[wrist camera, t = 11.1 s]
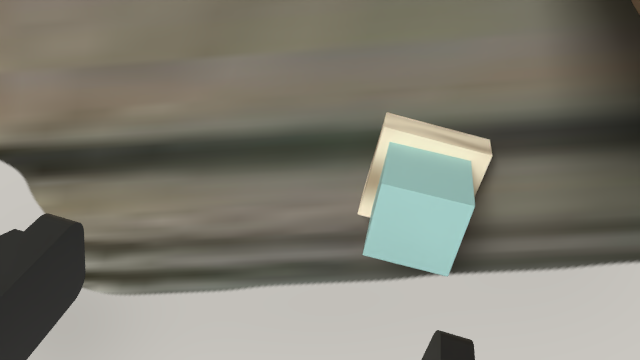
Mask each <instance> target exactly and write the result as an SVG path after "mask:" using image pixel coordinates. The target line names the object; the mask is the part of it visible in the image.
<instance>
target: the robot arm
mask: <svg viewBox="0 0 640 360" xmlns="http://www.w3.org/2000/svg"><path fill="white" fill-rule="evenodd" d="M84 279H85V250H84V229H83V226H82V224H81V223H79V222H75V221H72V220H68V219H65V218H62V217H58V216H55V215H52V214H44V215H42V216H40V217H39V218H38V219H37V220H36V221H35V222H34V223H33V224H32V225H30V226H29V227H28V228H27V229H26V230H25V231H24V232H23V231H20V230H17V229H13V230H11V231H9V232H7V233H5V234H3V235H0V360H27V359H28V357H29V356H30V355H31V354H32V352H33V351H34V350H35V349H36V347H37V346H38V345H39V344H40V342H41V341H42V340H43V339H44V338H45V336H46V335H47V334H48V333H49V331H50V330H51V329H52V328H53V326H54V325H55V324H56V323H57V322H58V320H59V319H60V318H61V317H62V315H63V314H64V313H65V311H66V310H67V309H68V308H69V307H70V305H71V304H72V303H73V302H74V301H75V299H76V298H77V296H78V294H79V292H80V290H81V288H82V286H83V283H84ZM422 360H475V356H474V344H473V342H472V340H470V339H466V338H463V337H460V336H456V335H453V334H449V333H446V332H443V331H439V330H437V331H436V332H435V333H434V335H433V337H432V339H431V341H430V343H429V346H428V348H427V349H426V351H425V354H424V356H423V358H422Z"/></svg>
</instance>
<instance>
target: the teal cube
mask: <svg viewBox="0 0 640 360" xmlns="http://www.w3.org/2000/svg"><path fill="white" fill-rule="evenodd" d="M474 208H475V200H474V189H473V177H472V166H471V161H469V160H465V159H461V158H456V157H452V156H448V155H444V154H439V153H435V152H431V151H427V150H423V149H418V148H414V147H410V146H406V145H402V144H397V143H393V142H389V146H388V150H387V154H386V157H385V161H384V165H383V169H382V173H381V176H380V180H379V184H378V188H377V192H376V195H375V199H374V203H373V207H372V211H371V216H370V221H369V226H368V231H367V236H366V241H365V246H364V251H363V255H365V256H369V257H373V258H377V259H381V260H385V261H388V262H392V263H396V264H400V265H404V266H408V267H412V268H416V269H420V270H424V271H428V272H432V273H436V274H439V275H443V276H448V275H449V272H450V270H451V267H452V264H453V262H454V259H455V257H456V254H457V252H458V249H459V246H460V244H461V241H462V239H463V236H464V233H465V231H466V228H467V226H468V223H469V221H470V218H471V215H472V213H473V210H474Z"/></svg>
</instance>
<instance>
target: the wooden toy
mask: <svg viewBox="0 0 640 360" xmlns="http://www.w3.org/2000/svg"><path fill="white" fill-rule="evenodd" d="M631 1H632V3H633V5H634V6H635V8H636V10H637V12H638V13H639V15H640V0H631Z"/></svg>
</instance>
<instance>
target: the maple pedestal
mask: <svg viewBox="0 0 640 360" xmlns="http://www.w3.org/2000/svg"><path fill="white" fill-rule="evenodd" d="M389 142H393V143H397V144H402V145H406V146H410V147H414V148H418V149H423V150H427V151H431V152H435V153H439V154H444V155H448V156H452V157H456V158H461V159H465V160H469V161H471V166H472V177H473V189H474V197H475V195H476V193H477V190H478V188H479V186H480V183H481V181H482V179H483V177H484V174H485V172H486V170H487V167H488V165H489V163H490V160H491V158H492V150H491V145H490V140H488V139H485V138H481V137H477V136H473V135H470V134H466V133H462V132H458V131H455V130H451V129H447V128H443V127H440V126H436V125H432V124H428V123H425V122H421V121H417V120H413V119H410V118H406V117H402V116H398V115H395V114H391V113H386V116H385V119H384V123H383V126H382V129H381V133H380V136H379V140H378V143H377V146H376V150H375V153H374V157H373V160H372V163H371V167H370V170H369V173H368V177H367V180H366V184H365V187H364V190H363V194H362V197H361V202H360V206H359V210H358V214H359V215H362V216H366V217H370V216H371V211H372V207H373V203H374V199H375V195H376V192H377V188H378V184H379V180H380V176H381V173H382V169H383V165H384V161H385V157H386V154H387V150H388V146H389Z"/></svg>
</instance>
